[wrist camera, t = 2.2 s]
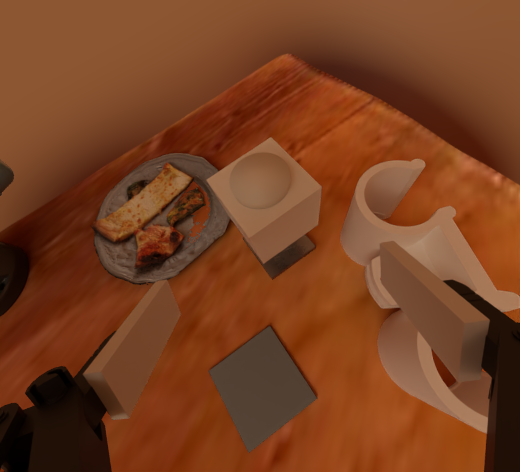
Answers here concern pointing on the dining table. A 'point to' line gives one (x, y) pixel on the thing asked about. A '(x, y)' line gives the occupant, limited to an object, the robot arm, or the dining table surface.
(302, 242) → the post
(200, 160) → the food plate
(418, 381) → the bracket
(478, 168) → the dining table surface
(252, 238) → the beige block piece
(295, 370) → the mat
